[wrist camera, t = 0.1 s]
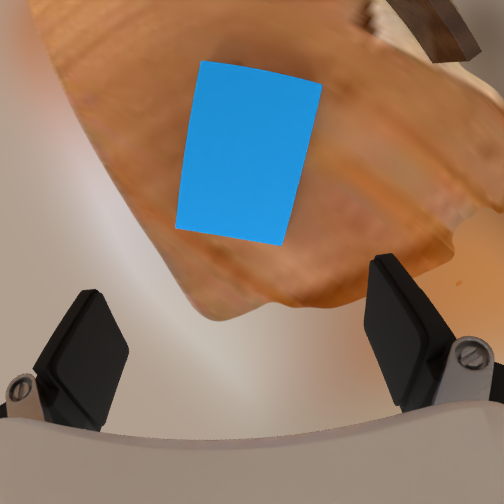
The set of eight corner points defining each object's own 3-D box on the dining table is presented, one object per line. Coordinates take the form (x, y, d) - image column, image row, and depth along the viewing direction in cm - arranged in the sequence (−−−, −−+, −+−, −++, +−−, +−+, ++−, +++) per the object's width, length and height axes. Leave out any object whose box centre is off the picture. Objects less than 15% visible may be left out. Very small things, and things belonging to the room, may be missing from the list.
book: (175, 229, 45) (198, 60, 33) (180, 218, 48) (203, 63, 37) (286, 247, 46) (326, 84, 34) (283, 234, 50) (319, 85, 38)
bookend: (382, -5, 30) (411, -22, 21) (414, -21, 27) (444, -36, 18) (432, 63, 35) (468, 61, 26) (460, 43, 32) (496, 40, 23)
